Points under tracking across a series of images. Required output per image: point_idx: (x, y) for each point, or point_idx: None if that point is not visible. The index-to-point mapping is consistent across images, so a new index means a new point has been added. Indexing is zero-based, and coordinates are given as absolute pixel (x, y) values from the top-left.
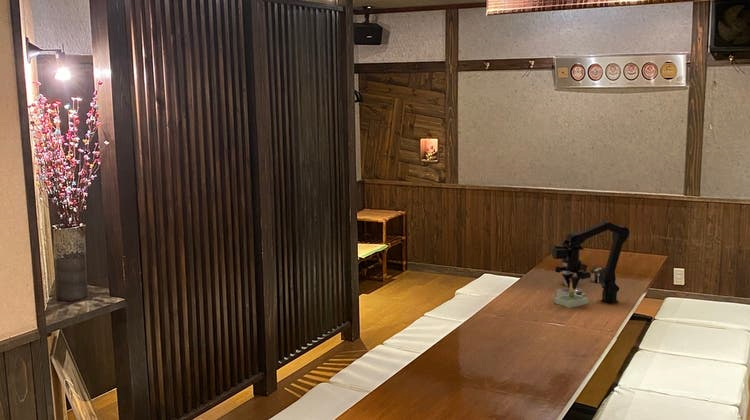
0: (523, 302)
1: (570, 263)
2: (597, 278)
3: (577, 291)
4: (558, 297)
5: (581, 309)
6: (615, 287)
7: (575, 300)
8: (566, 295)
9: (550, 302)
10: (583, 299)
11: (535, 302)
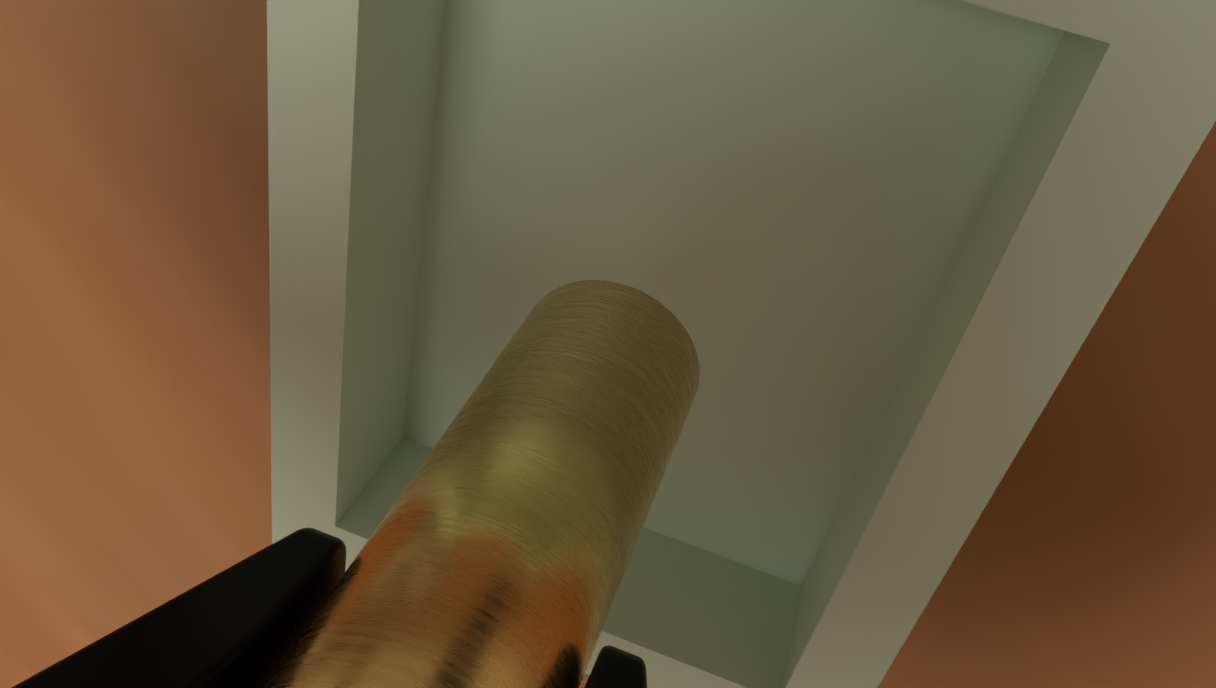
0: (43, 646)
1: None
2: None
3: None
4: (334, 514)
5: (1193, 613)
6: None
7: (890, 572)
8: (321, 187)
9: (270, 439)
10: (1114, 283)
11: (127, 570)
